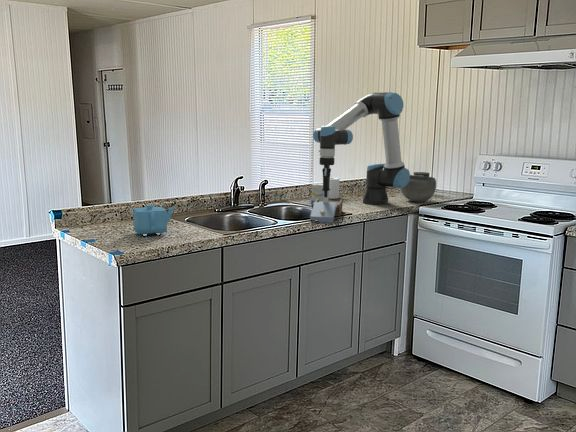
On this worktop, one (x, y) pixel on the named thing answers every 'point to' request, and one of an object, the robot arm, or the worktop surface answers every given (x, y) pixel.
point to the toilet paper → (334, 188)
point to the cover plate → (323, 212)
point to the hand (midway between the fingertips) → (325, 203)
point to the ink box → (317, 192)
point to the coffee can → (421, 174)
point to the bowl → (419, 188)
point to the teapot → (151, 219)
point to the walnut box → (338, 206)
